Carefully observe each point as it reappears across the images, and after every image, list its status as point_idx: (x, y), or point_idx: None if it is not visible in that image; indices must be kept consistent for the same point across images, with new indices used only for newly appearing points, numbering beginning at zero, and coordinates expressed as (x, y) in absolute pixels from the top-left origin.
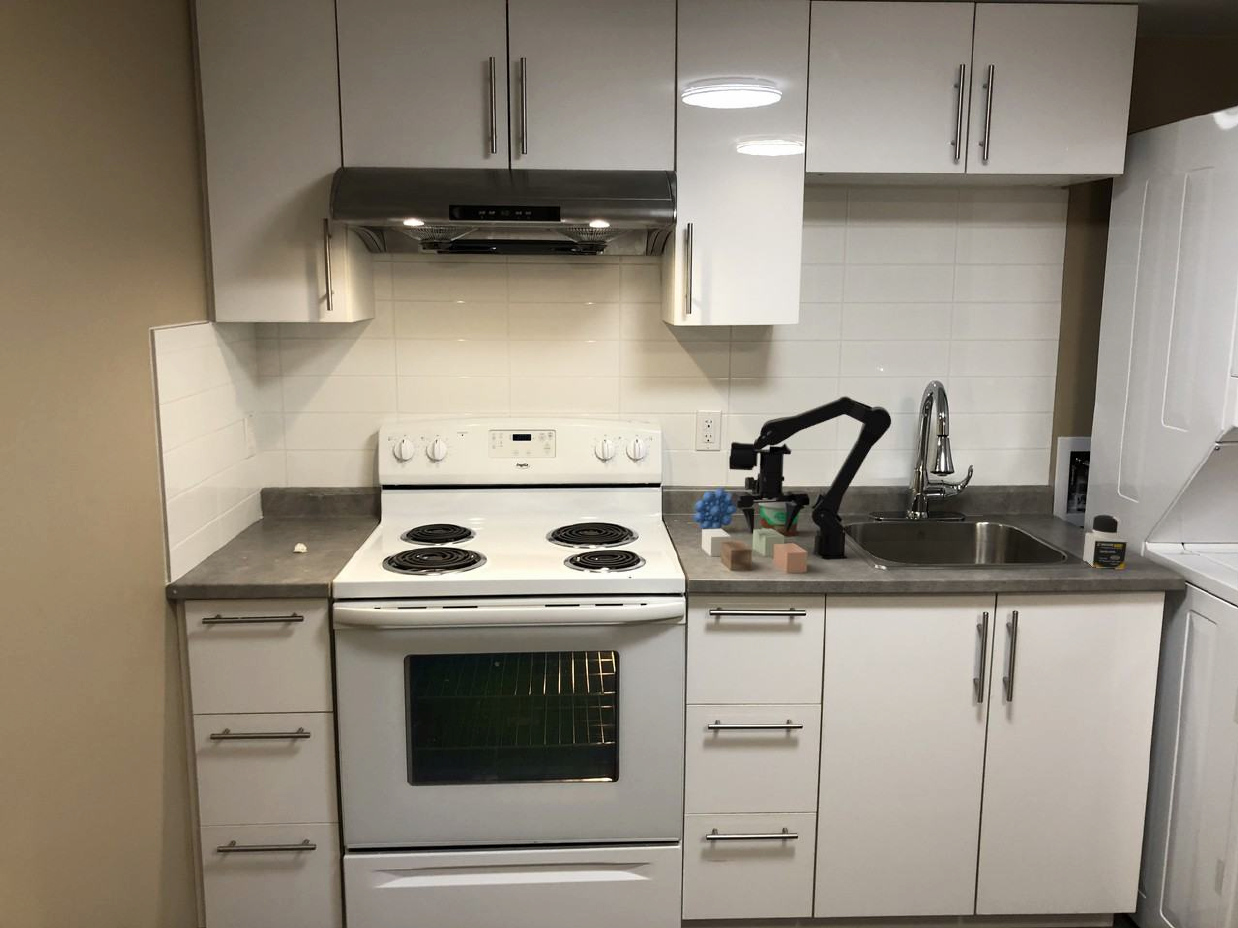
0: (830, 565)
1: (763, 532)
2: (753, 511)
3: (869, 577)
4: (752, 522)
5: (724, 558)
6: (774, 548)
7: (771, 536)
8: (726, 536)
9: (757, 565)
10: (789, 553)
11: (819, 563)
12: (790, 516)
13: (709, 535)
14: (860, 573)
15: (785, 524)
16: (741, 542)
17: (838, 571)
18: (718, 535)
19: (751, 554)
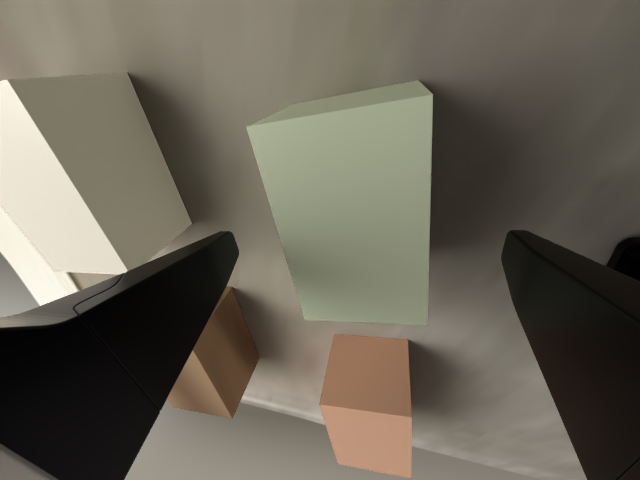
0: (534, 387)
1: (314, 227)
2: (123, 468)
3: (566, 470)
4: (187, 339)
5: None
6: (323, 390)
7: (342, 317)
8: (112, 273)
9: (280, 335)
10: (345, 462)
11: (508, 364)
12: (580, 438)
13: (33, 245)
14: (571, 450)
15: (534, 266)
16: (192, 357)
17: (512, 425)
18: (71, 251)
19: (238, 401)
